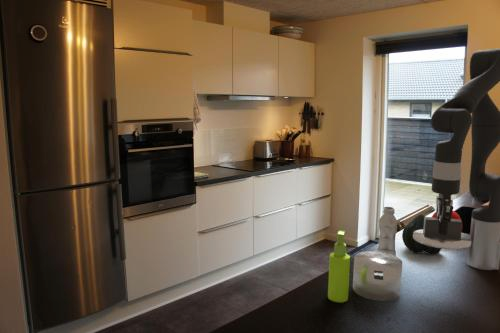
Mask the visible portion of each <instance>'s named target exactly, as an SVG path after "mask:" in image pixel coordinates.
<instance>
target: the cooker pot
mask: <svg viewBox="0 0 500 333" xmlns="http://www.w3.org/2000/svg"><path fill="white" fill-rule="evenodd" d="M402 270H403V261H402V259H401V258H400V257H398V256H397V255H396V256H394V255H391V254H388V253H384V252H381V251H377V250H373V251H370V250H369V251H368V250H367V251H366V250H365V251H361V252H357V253H356V254H354V259H353V273H352V274H353V278H352V290H353V292H354V293H356V294H357V295H358V296H360V297H362V298H365V299H367V300H372V301H379V302H389V301H394V300H396V299H398V298H399V297H400V295H401V289H402V288H401V286H402V273H403V271H402Z"/></svg>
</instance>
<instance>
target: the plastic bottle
mask: <svg viewBox="0 0 500 333" xmlns="http://www.w3.org/2000/svg"><path fill="white" fill-rule="evenodd" d="M382 212H383V214H382V215H381V216H380V218H379V219H378V231H379V233H378V234H379V237H378V238H379V239H378V247H377V250H376V251H381V252H384V253H388V254H391V255H394V256H396V257H397V251H396V235H397V234H396V233H397V230H398V220H397V218H396V216H395V207H392V206H384V207H383V211H382Z"/></svg>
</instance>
